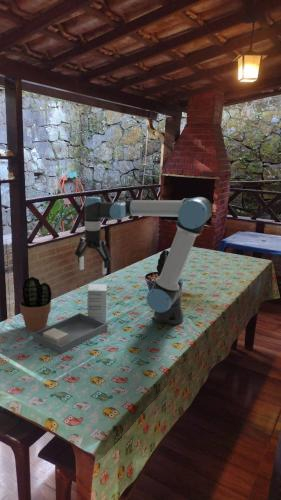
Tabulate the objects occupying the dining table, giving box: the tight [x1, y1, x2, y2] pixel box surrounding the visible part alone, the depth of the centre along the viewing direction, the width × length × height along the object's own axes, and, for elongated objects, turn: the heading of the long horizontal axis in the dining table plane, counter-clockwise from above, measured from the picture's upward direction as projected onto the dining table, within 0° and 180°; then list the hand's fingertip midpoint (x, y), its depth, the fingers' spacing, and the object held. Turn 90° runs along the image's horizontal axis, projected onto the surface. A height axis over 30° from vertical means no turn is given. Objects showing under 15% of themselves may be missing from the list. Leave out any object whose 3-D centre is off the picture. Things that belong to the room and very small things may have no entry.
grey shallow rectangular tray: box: [32, 312, 108, 354], centre depth 163 cm, size 18×28×4 cm, turn 144°
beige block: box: [43, 328, 68, 345], centre depth 156 cm, size 9×6×4 cm, turn 54°
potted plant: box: [19, 276, 53, 332], centre depth 167 cm, size 14×14×25 cm
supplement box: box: [86, 283, 108, 323], centre depth 180 cm, size 10×9×17 cm
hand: (92, 271), depth 180 cm, fingers open, 13 cm apart
